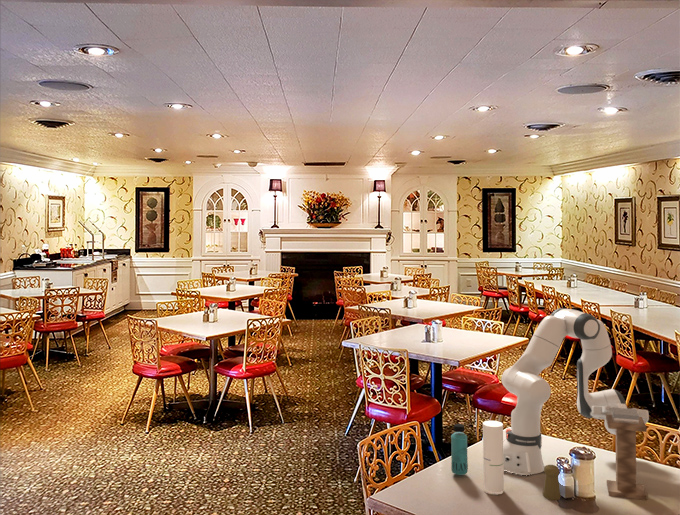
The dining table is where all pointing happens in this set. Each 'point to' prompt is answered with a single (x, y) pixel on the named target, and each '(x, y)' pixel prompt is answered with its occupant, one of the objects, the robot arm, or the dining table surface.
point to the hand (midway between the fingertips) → (621, 409)
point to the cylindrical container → (493, 456)
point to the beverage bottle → (459, 450)
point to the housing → (625, 414)
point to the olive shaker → (551, 483)
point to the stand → (626, 460)
